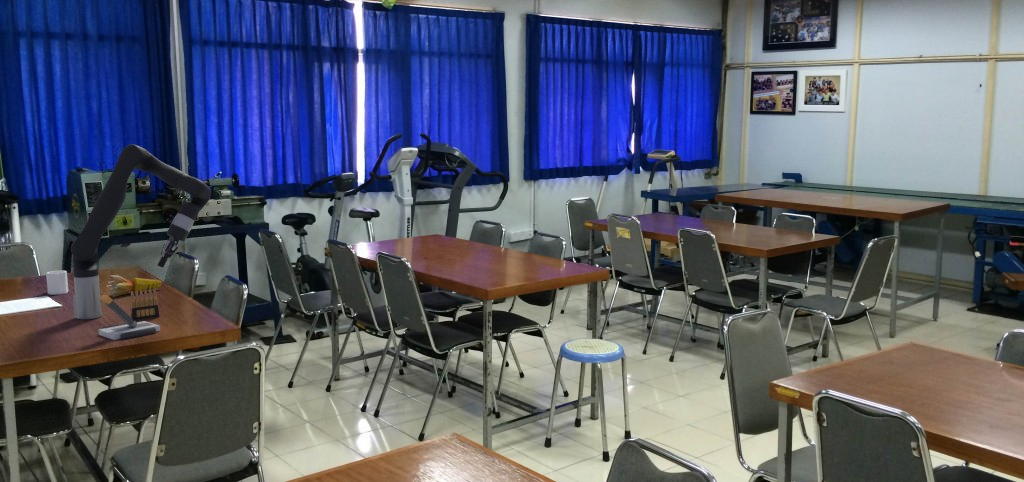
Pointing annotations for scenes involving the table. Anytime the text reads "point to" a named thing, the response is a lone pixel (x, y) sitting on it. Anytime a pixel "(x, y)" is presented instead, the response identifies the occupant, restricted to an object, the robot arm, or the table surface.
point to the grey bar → (115, 325)
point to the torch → (131, 285)
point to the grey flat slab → (125, 329)
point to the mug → (57, 282)
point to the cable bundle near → (138, 333)
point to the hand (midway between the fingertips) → (160, 266)
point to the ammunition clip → (144, 305)
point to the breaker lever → (118, 310)
